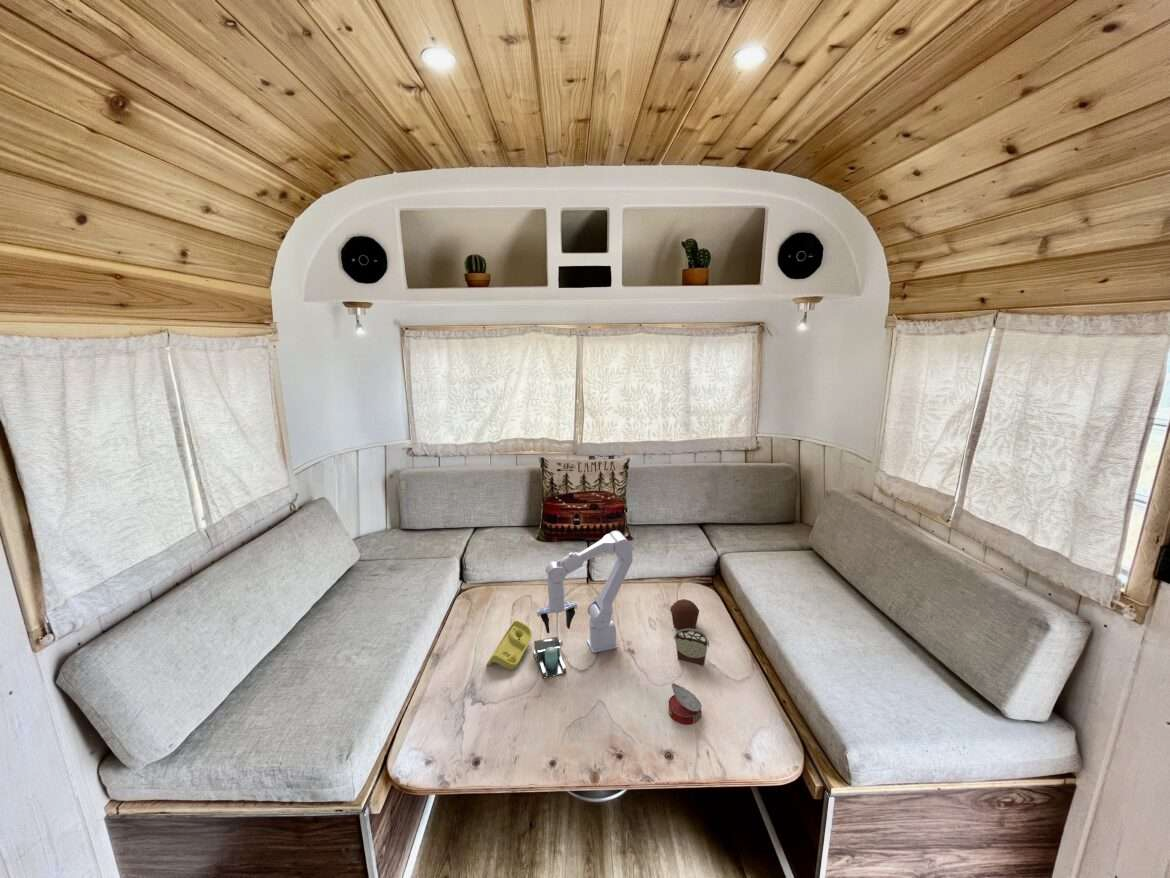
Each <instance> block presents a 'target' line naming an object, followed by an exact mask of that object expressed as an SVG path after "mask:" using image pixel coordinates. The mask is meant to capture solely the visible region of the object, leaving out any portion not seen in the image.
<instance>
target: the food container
mask: <svg viewBox="0 0 1170 878" xmlns="http://www.w3.org/2000/svg"><path fill="white" fill-rule="evenodd" d="M673 640H675V647H676V656H677V658H676V659H677V661H679V662H685V663H689V664H692V665H695V666H701V667H705V663H706V658H707V657H706V656H707V649H708V648H710V642H709V641H710V640H709V638H708V636H707V634H705V633H704V632H702V631H701V630H699V629H696V628H694V629H682V630H677V631H676V633H675V634H674V636H673Z"/></svg>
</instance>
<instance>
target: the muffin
mask: <svg viewBox="0 0 1170 878" xmlns="http://www.w3.org/2000/svg"><path fill="white" fill-rule="evenodd" d="M669 611H670V612H671V618H672V624H673V628H675V629H676V630H677V631H679V630H682V629H696V627H697V624H698V623H697V622H698V619H699V618H698V617H699V614H700V609H699V608H698V606H697V605H696V604H695V602H693V601H691V600H689V599H684V598H683V599H679V600H676V601H675V602H674V603H673V604H672V605H671V606H670V610H669Z"/></svg>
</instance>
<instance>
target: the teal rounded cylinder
mask: <svg viewBox="0 0 1170 878" xmlns="http://www.w3.org/2000/svg"><path fill="white" fill-rule="evenodd" d="M545 667H546V669H548V670H554V669H556V668H557V667H558V656H557V649H556V648H555V647H548V648H546V649H545Z"/></svg>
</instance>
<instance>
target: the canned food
mask: <svg viewBox="0 0 1170 878" xmlns="http://www.w3.org/2000/svg"><path fill="white" fill-rule="evenodd" d="M671 688H672V692H673V693H674V694H673V695H672V696H670V698H669V700H668V715H669V716H670V718H671V719H672V720H673V721H674V722H675V723H678V724H680V725H685V726H690V725H694V724H695V725H696V723H698V722H699V721H700V719H701V718H702V703H701V701H700V700H699V699H698V698H697V696H696V695H695V694H694V693H692V692H691V691H690V690H689V689H686V687H684V686H681V685H679V684H677V683H676V682H675V683H674V682H672V684H671Z"/></svg>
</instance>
